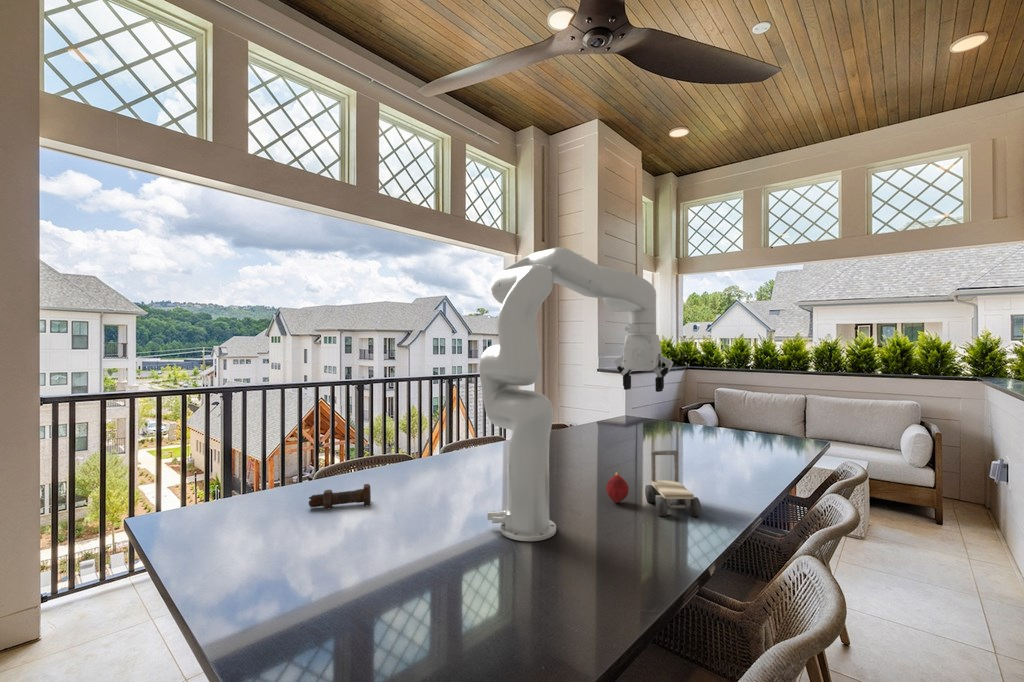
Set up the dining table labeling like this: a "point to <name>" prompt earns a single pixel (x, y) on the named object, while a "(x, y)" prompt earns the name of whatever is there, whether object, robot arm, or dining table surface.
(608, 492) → the onion
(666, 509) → the trolley
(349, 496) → the bolt
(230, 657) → the dining table surface
